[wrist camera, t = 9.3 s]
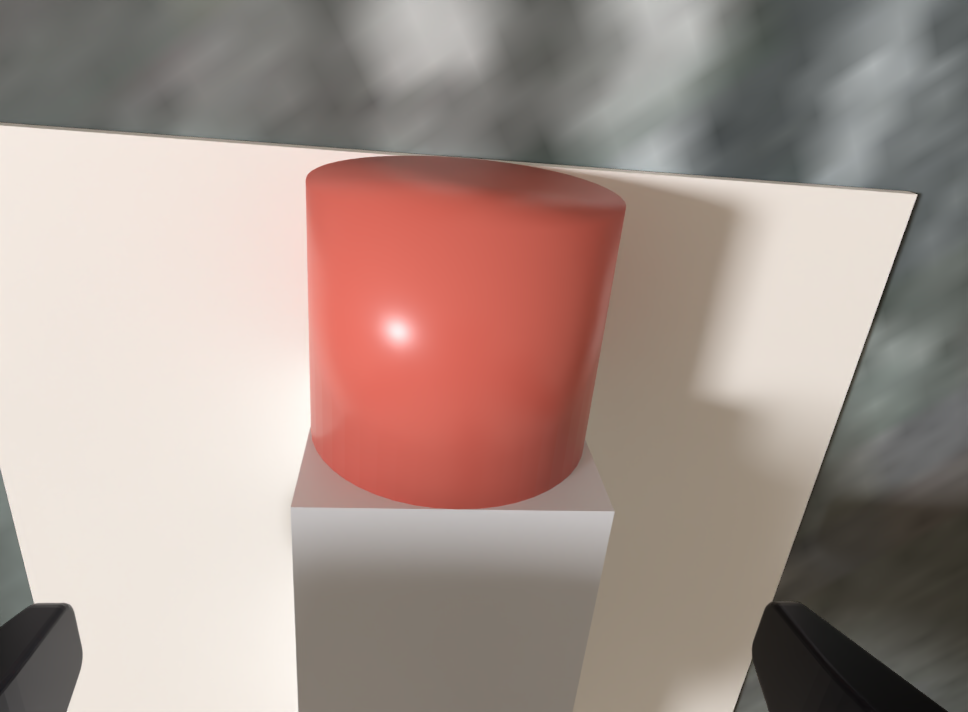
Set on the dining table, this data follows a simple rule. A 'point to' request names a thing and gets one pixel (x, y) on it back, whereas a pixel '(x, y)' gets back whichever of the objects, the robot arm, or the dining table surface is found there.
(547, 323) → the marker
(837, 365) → the paper
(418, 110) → the dining table surface
